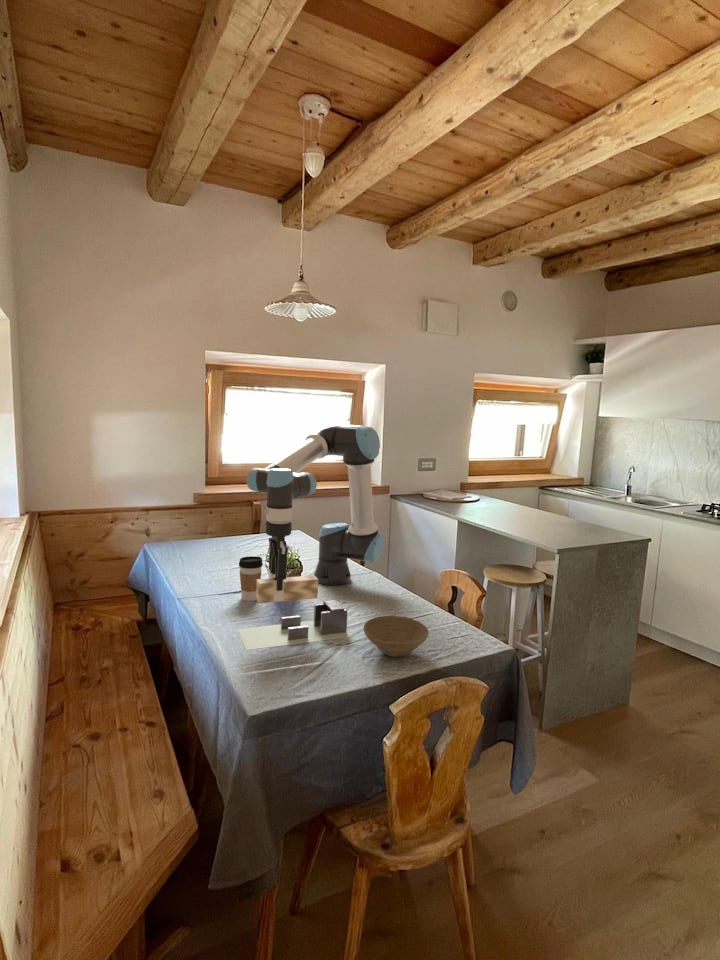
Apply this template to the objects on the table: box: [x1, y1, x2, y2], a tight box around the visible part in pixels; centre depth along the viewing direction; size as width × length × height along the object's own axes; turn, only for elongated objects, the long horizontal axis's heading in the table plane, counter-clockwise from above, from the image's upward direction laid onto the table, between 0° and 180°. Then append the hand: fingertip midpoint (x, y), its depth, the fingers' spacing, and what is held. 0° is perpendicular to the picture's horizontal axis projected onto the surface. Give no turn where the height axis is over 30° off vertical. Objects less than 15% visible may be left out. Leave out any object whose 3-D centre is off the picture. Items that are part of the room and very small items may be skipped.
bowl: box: [363, 615, 429, 658], centre depth 152 cm, size 18×18×8 cm
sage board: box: [237, 620, 352, 651], centre depth 163 cm, size 32×15×1 cm, turn 112°
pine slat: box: [255, 575, 319, 604], centre depth 160 cm, size 18×4×6 cm, turn 112°
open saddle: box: [280, 615, 308, 640], centre depth 163 cm, size 6×9×4 cm, turn 23°
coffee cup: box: [238, 556, 264, 602], centre depth 190 cm, size 8×8×15 cm
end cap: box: [313, 599, 348, 635], centre depth 167 cm, size 8×8×8 cm
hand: (276, 597), depth 159 cm, fingers closed on pine slat, 4 cm apart
